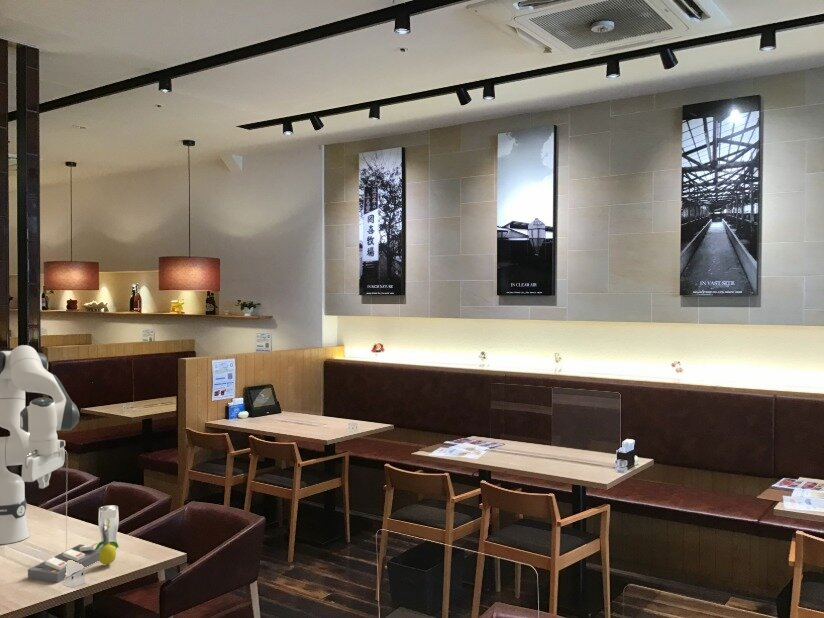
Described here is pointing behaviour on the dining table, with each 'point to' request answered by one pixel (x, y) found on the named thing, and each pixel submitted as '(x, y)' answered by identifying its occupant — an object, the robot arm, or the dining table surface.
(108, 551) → the lemon
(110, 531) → the beer glass
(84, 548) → the rocker
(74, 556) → the rocker
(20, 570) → the dining table surface
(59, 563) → the rocker
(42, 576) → the power strip
